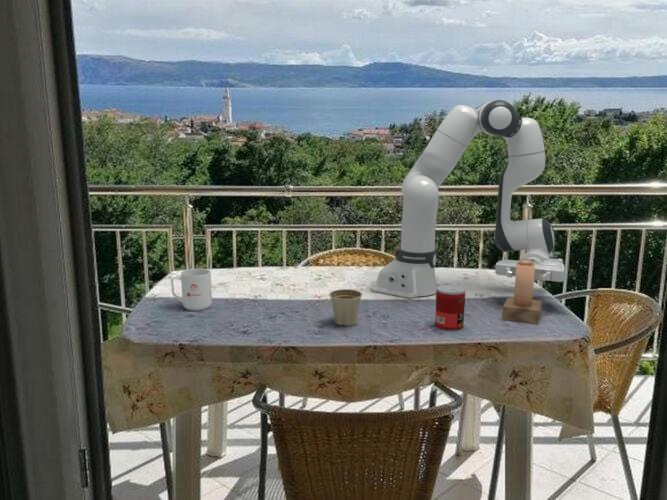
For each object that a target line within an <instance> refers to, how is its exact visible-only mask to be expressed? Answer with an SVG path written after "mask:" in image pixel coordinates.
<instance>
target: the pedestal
mask: <svg viewBox="0 0 667 500" xmlns="http://www.w3.org/2000/svg"><path fill="white" fill-rule="evenodd" d="M542 308H543V300H537V299H533V300H532V305H531V306H518V305H515V304H514V297H509V296H508V297H507V298H506V300H505V301H504V303H503V305H502V313H501V314H502V315H501V316H502V318H501V320H502V321H510V322H519V323H525V324H535V325H539V321H540V319H541V316H542V311H543V309H542Z"/></svg>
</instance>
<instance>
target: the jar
mask: <svg viewBox="0 0 667 500" xmlns="http://www.w3.org/2000/svg"><path fill="white" fill-rule="evenodd" d="M518 261H519V262H518V263H516V277H514V279H515V281H514V293H513V294H514V296H513V298H514V304H515V305H518V306H531V305H532V300H534V299H533V298H534V297H533V296H534V285H535V284H534V282H535V281H534V272H535V264H534V263H533V260H529V259H521V258H520V259H518Z"/></svg>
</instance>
